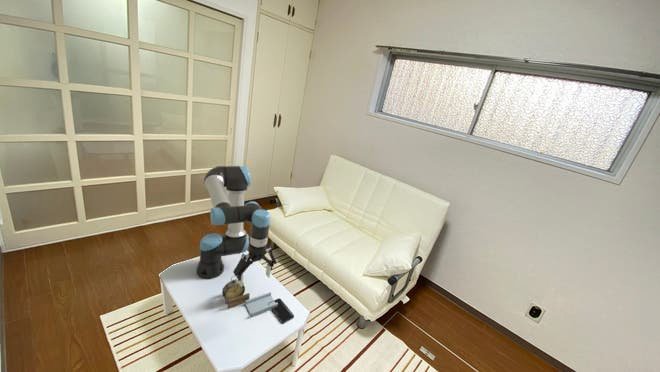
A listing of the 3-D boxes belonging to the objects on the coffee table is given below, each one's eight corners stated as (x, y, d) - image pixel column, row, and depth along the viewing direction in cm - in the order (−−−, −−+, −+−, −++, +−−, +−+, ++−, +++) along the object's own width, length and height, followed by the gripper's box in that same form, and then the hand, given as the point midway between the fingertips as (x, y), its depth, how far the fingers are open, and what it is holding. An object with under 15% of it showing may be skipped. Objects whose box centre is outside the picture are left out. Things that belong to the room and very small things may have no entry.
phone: (279, 297, 150) (294, 316, 140) (279, 299, 150) (294, 317, 140) (267, 303, 144) (282, 323, 135) (267, 305, 145) (282, 324, 135)
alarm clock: (224, 306, 138) (225, 282, 133) (220, 299, 142) (221, 275, 136) (244, 299, 145) (246, 275, 139) (241, 292, 149) (242, 269, 143)
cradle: (245, 304, 142) (245, 300, 141) (270, 295, 151) (270, 291, 150) (251, 317, 135) (252, 313, 135) (277, 307, 144) (277, 303, 143)
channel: (222, 295, 145) (222, 288, 143) (242, 288, 152) (242, 281, 150) (228, 308, 138) (228, 301, 136) (249, 301, 144) (249, 294, 142)
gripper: (233, 255, 108) (230, 294, 116) (287, 241, 123) (281, 276, 131) (227, 244, 113) (225, 283, 121) (279, 232, 129) (274, 267, 136)
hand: (254, 280), depth 126 cm, fingers open, 13 cm apart
